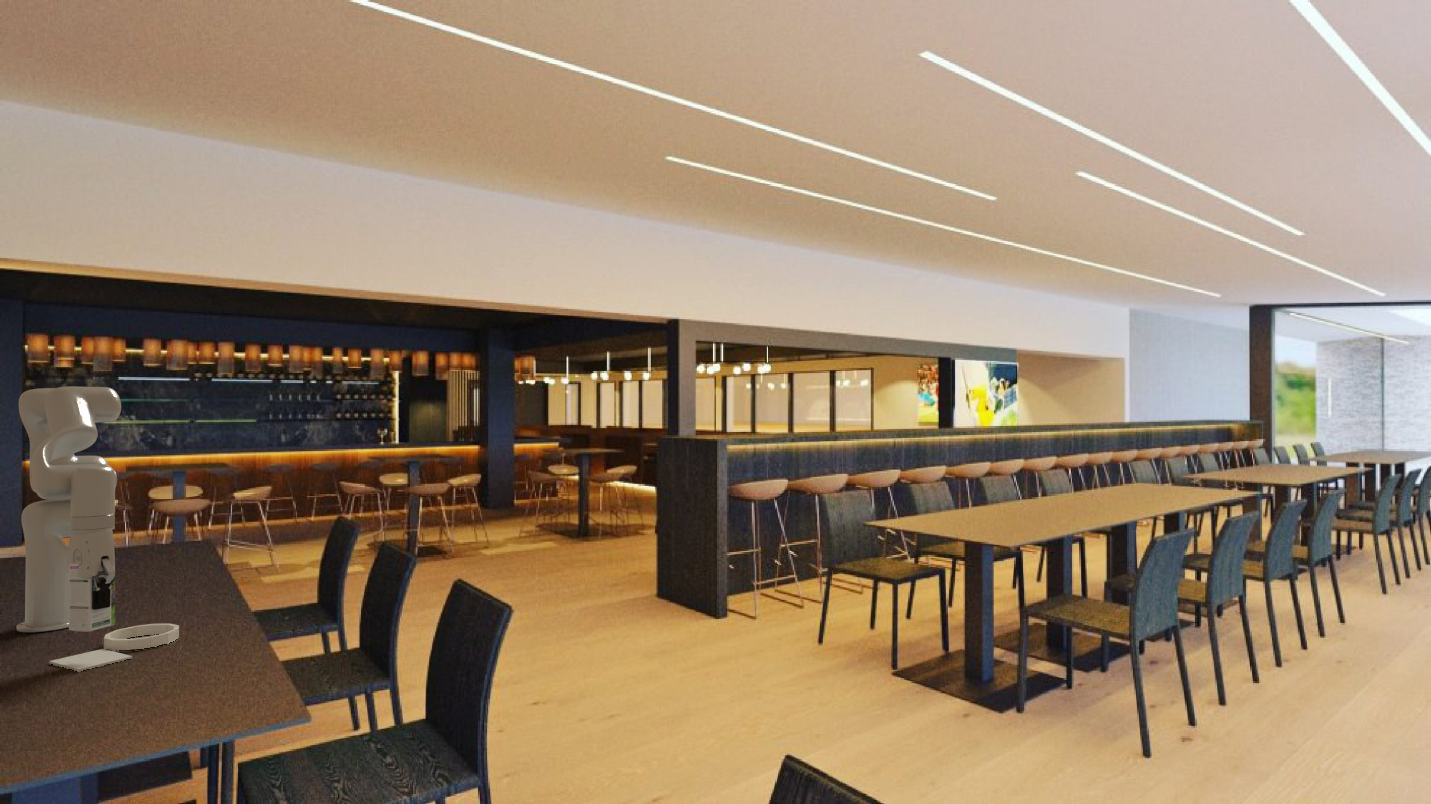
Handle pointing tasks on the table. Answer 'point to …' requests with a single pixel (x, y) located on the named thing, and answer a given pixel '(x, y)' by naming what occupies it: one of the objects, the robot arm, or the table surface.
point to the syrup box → (87, 604)
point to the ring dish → (120, 641)
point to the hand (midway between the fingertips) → (92, 605)
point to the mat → (90, 660)
